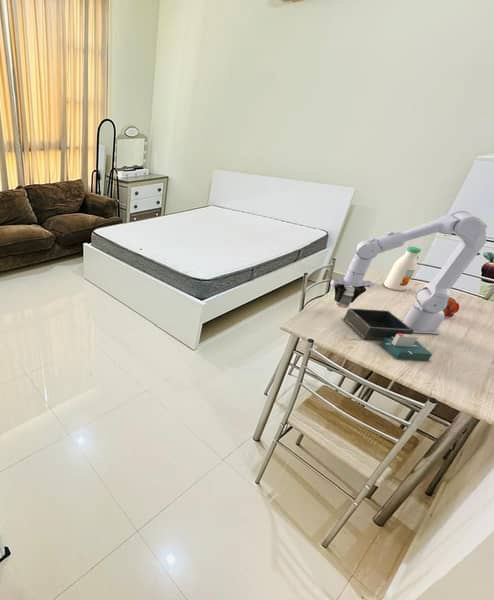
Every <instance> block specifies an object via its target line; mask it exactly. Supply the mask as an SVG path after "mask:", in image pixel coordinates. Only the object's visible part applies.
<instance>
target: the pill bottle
mask: <svg viewBox="0 0 494 600" xmlns="http://www.w3.org/2000/svg"><path fill="white" fill-rule="evenodd" d="M344 287H345V289H347V290H346V291H345V292H344V294H343V295H342V297H341V299H340V301H339V302H336V301H334V304H335V306H336V307H339V308H342V309H349V307H350V304H351V303H350V302H351V300H352V298H353V296H354V293H353V292H354V291H355V288H354V287H352V286H344Z"/></svg>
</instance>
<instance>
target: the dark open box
mask: <svg viewBox="0 0 494 600" xmlns="http://www.w3.org/2000/svg"><path fill="white" fill-rule="evenodd" d="M401 320H402V319H400V318H399V317H397V316H396V315H395V314H393V313H392V312H391V311H389V310H382V309H366V308H351V307H350V308H349V307H348V308H347V311H346V313H345V316H344V317H343V321H344V322H345V323H346V324H347V325H348V326H349V327H350V328H351V329H353V331H354V332H355V333H357V334H358V335H359V336H360V337H361V339H363V340H364V341H365V340H366V341H379V342H382V341H383V339H384V338H392V337H391V336H393V337H394V338H395V336H396V334H398V333H400V334H409V335H413V333H414V330H412V329H411V328H410V327H409V326H407V325H406V324H405V323H403V322H402V321H401Z"/></svg>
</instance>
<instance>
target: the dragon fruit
mask: <svg viewBox="0 0 494 600" xmlns="http://www.w3.org/2000/svg"><path fill="white" fill-rule="evenodd" d="M442 311H443V312H444V315H445V316H444V317H446V318H452V317H453V316H454V315H455V314H456V313H458V312H459V311H460V304H459V303H458V302H457V300H456V299H454V298H453V297H451V296H450V298H449V299H448V301H447V306H446V308H445V309H444V310H442Z"/></svg>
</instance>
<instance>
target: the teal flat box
mask: <svg viewBox="0 0 494 600" xmlns="http://www.w3.org/2000/svg"><path fill="white" fill-rule="evenodd" d="M391 337H392V338H384V339H383V341H380V345H381V346H382V347H383V349H385V350H386V351H387V352H388V353H389V354H390V355H391V356H392V357H393V358H395V359H397V360H410V361H422V362H425V361H426V362H428V361H429V360H430V359H431V357H432V356H433V353H432V352H431V351H429V350H428V349H427V348H426V347H425V346H424V345H422V344H421V343H420V342H418V341H417V340H416V341H415V342H414V344H413V346H412V347H406V346H394V345H393V344H392V341H393V339H394V337H393V336H391Z"/></svg>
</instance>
